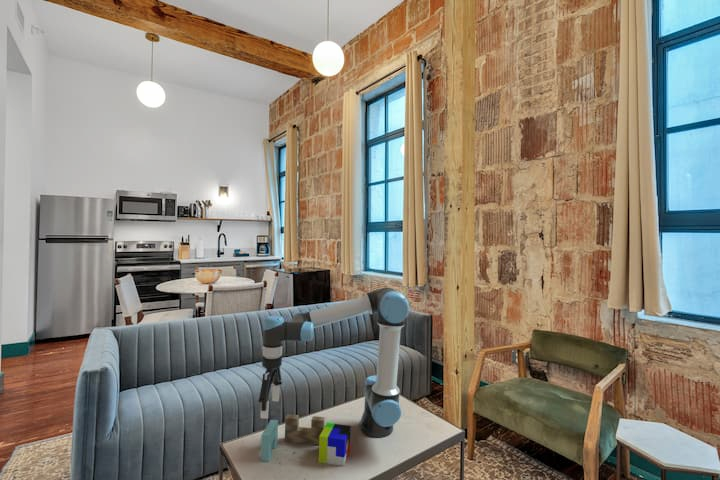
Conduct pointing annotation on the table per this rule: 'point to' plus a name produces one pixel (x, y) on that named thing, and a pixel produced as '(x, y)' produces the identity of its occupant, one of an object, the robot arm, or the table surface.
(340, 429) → the puzzle toy
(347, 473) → the table surface
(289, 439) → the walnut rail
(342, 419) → the table surface
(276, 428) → the notched teal block
